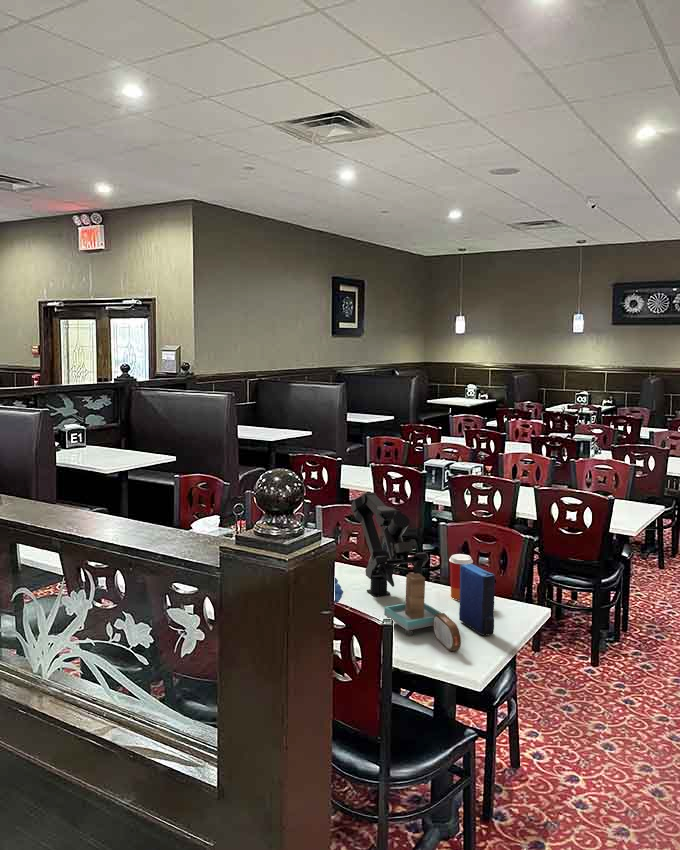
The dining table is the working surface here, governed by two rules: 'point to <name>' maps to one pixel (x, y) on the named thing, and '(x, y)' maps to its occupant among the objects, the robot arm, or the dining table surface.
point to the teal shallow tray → (407, 623)
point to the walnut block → (415, 596)
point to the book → (477, 598)
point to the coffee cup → (457, 572)
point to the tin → (447, 632)
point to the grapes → (338, 591)
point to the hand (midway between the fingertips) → (406, 584)
